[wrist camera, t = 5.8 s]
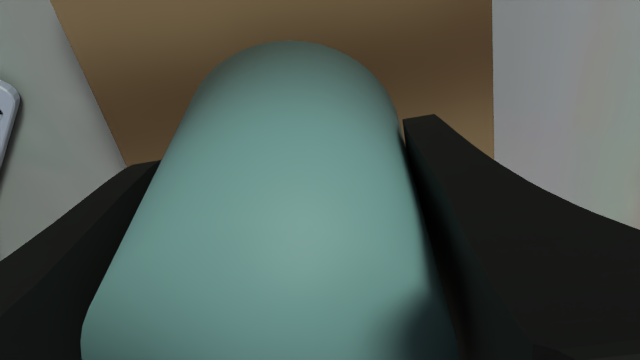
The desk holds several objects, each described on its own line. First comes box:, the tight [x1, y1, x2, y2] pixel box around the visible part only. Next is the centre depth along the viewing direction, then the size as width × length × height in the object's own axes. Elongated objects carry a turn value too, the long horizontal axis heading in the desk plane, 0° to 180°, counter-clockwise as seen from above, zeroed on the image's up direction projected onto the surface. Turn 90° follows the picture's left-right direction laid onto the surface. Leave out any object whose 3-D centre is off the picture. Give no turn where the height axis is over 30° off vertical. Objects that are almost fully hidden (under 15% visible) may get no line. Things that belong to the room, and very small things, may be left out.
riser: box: [50, 0, 494, 167], centre depth 15 cm, size 10×10×3 cm
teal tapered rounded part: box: [80, 41, 459, 360], centre depth 9 cm, size 5×5×6 cm
